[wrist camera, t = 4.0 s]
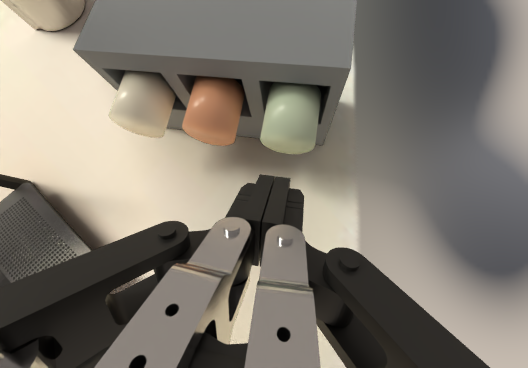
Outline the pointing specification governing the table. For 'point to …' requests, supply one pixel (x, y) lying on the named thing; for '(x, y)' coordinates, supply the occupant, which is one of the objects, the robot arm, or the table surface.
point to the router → (32, 233)
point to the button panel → (226, 48)
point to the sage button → (291, 118)
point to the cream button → (143, 103)
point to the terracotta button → (214, 110)
